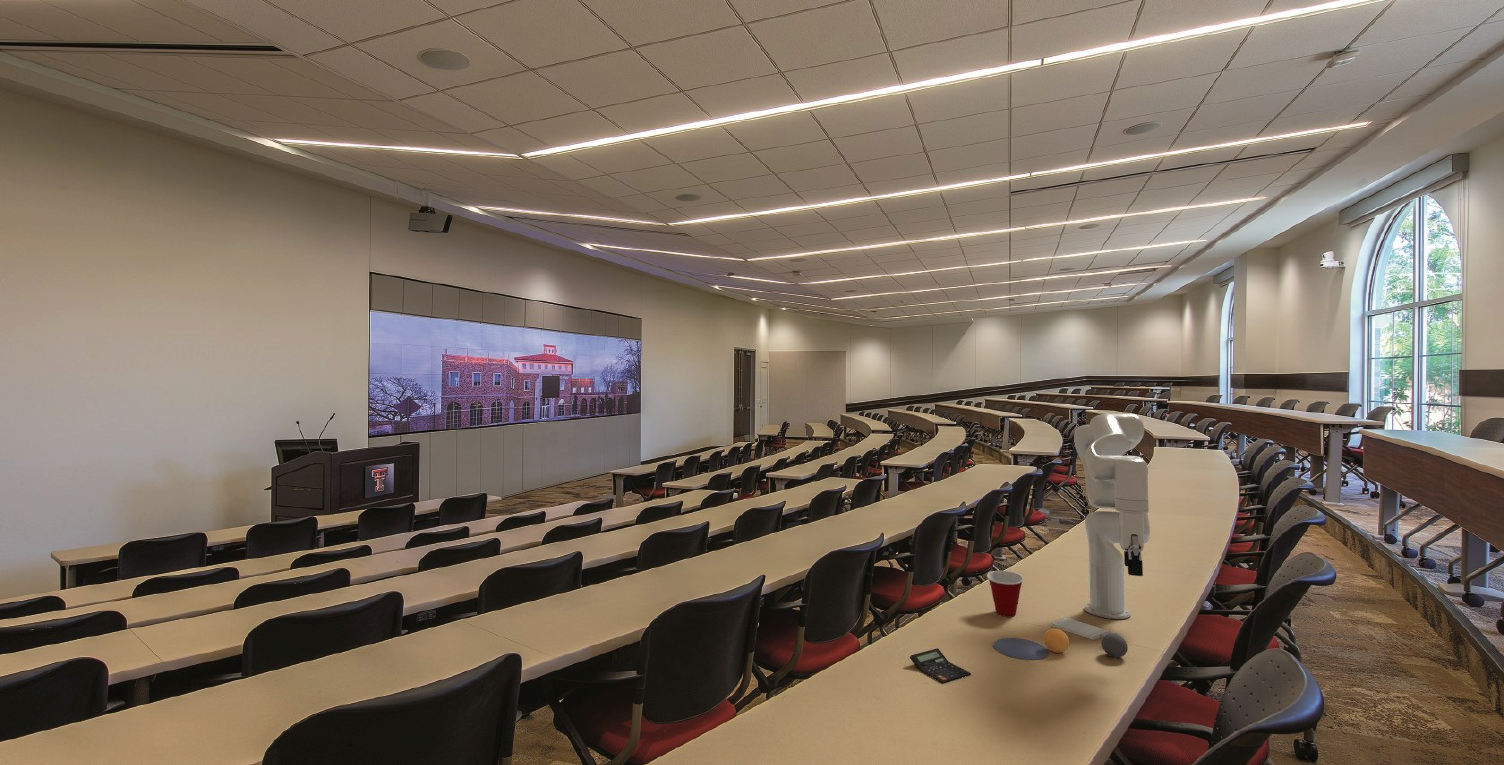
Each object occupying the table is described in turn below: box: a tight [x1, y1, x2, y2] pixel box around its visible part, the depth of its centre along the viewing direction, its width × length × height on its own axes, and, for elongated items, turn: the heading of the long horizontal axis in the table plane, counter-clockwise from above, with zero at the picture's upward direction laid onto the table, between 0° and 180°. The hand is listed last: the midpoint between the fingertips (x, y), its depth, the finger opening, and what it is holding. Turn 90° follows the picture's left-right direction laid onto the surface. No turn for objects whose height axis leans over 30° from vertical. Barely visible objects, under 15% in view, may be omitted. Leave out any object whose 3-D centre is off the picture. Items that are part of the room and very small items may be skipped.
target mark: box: [993, 637, 1050, 661], centre depth 169 cm, size 14×14×1 cm
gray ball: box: [1101, 632, 1129, 659], centre depth 163 cm, size 6×6×6 cm
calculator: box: [909, 647, 972, 685], centre depth 157 cm, size 9×12×3 cm
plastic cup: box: [986, 570, 1025, 617], centre depth 195 cm, size 11×11×12 cm
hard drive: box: [1051, 617, 1110, 641], centre depth 182 cm, size 2×8×12 cm
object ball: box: [1043, 628, 1070, 654], centre depth 167 cm, size 6×6×6 cm
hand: (1133, 571), depth 163 cm, fingers open, 9 cm apart
